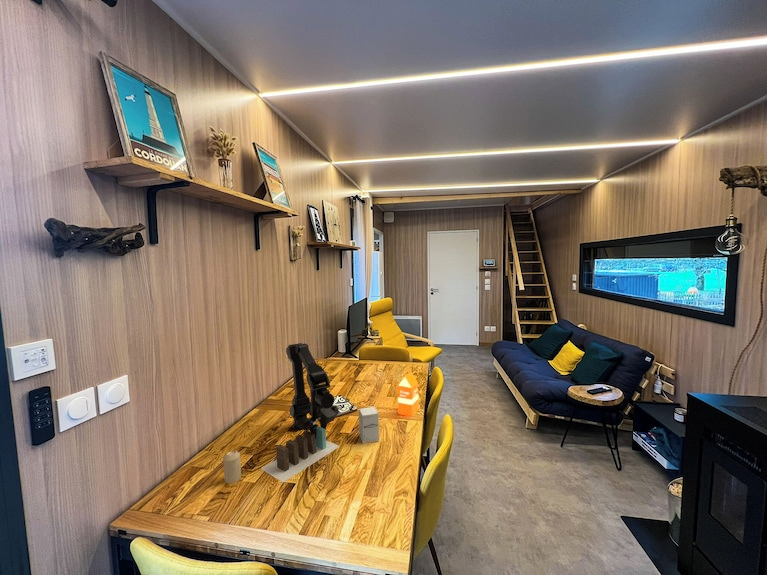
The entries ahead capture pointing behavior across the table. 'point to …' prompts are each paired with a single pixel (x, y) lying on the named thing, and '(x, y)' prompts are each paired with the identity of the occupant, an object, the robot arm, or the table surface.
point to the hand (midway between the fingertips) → (319, 436)
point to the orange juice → (408, 395)
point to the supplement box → (368, 425)
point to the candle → (232, 467)
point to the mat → (303, 464)
